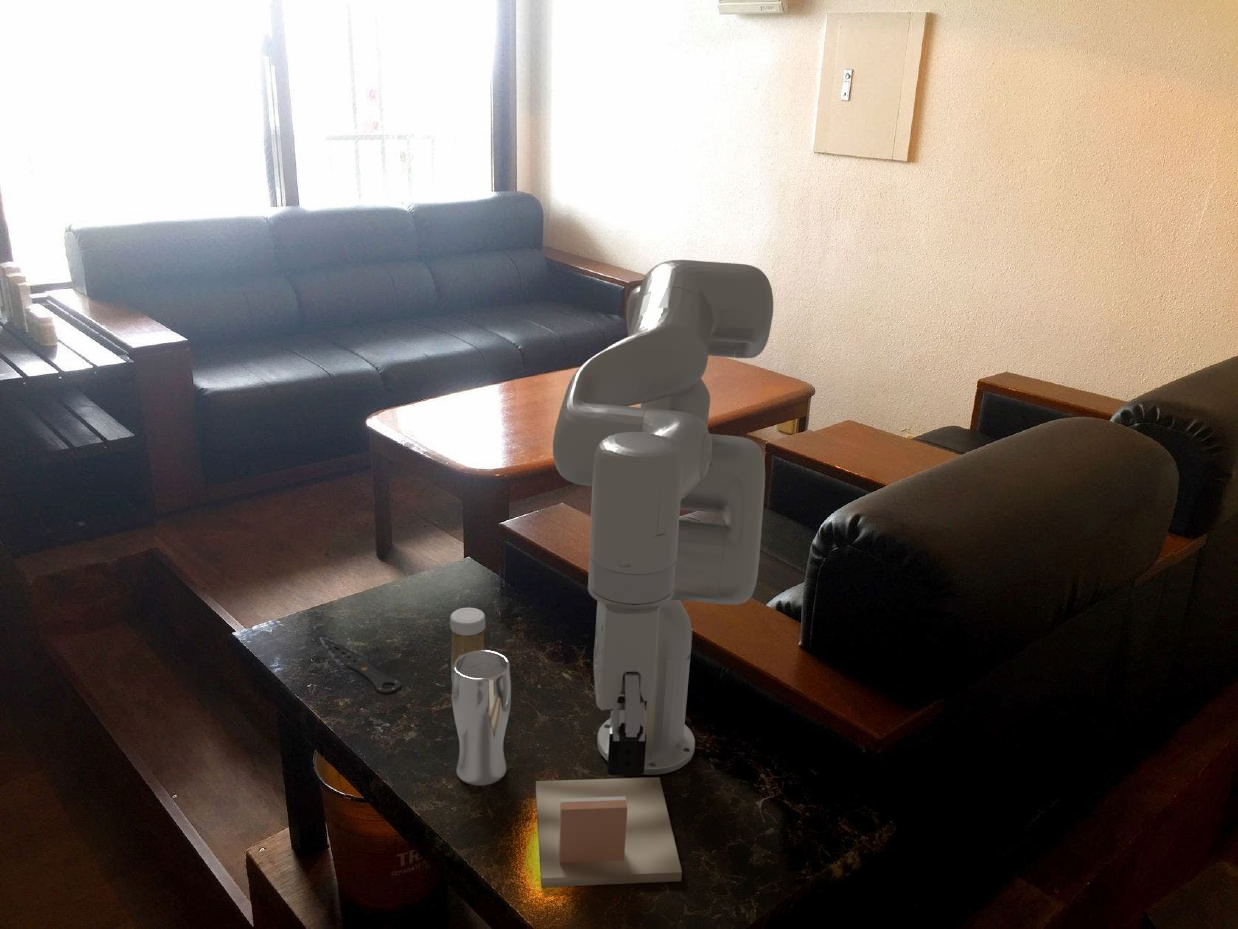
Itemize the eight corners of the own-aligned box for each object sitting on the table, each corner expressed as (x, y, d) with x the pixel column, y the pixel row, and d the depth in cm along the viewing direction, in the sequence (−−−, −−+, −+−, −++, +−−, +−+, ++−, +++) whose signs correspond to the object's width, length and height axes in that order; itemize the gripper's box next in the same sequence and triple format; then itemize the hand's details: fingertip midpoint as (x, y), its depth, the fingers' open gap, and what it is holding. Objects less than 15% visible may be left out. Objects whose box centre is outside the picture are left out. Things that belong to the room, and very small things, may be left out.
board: (535, 789, 123) (535, 781, 122) (658, 785, 124) (659, 777, 124) (541, 887, 108) (541, 878, 107) (681, 881, 110) (681, 872, 109)
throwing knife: (381, 699, 139) (381, 695, 139) (305, 642, 152) (304, 639, 152) (408, 687, 142) (408, 683, 142) (331, 632, 155) (330, 629, 155)
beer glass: (456, 792, 121) (455, 683, 116) (449, 756, 128) (448, 652, 123) (514, 784, 123) (516, 677, 118) (504, 750, 130) (506, 646, 124)
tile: (558, 851, 111) (560, 798, 109) (622, 849, 112) (625, 796, 110) (559, 863, 110) (561, 809, 107) (624, 860, 110) (627, 807, 108)
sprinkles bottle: (452, 692, 141) (451, 606, 136) (485, 692, 142) (485, 606, 137) (450, 711, 137) (449, 623, 132) (484, 711, 137) (484, 623, 133)
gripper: (585, 531, 96) (579, 687, 102) (592, 624, 80) (584, 802, 86) (664, 533, 97) (653, 687, 103) (686, 625, 81) (672, 802, 87)
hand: (622, 739), depth 95 cm, fingers open, 9 cm apart
